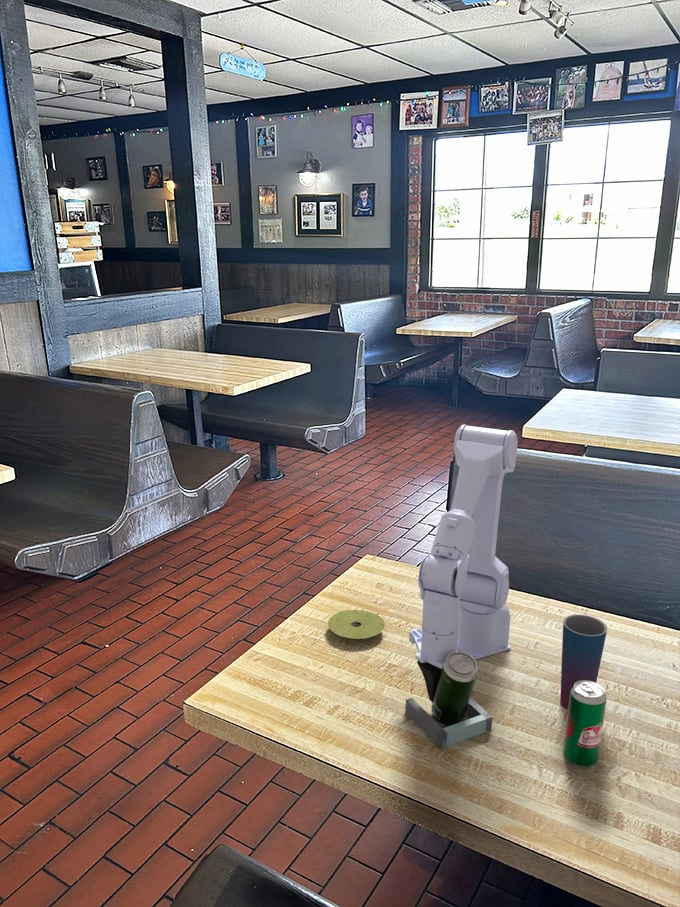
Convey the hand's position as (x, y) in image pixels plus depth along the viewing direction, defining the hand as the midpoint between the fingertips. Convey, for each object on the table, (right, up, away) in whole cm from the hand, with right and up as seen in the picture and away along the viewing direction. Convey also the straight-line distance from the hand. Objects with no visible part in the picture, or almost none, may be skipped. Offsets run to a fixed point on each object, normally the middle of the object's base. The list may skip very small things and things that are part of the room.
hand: (436, 699), depth 118 cm
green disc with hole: (-13, +5, +24) cm, 28 cm away
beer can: (+2, -2, -2) cm, 3 cm away
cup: (+24, -2, +2) cm, 24 cm away
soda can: (+20, -5, -10) cm, 23 cm away
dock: (+2, -3, -2) cm, 4 cm away
